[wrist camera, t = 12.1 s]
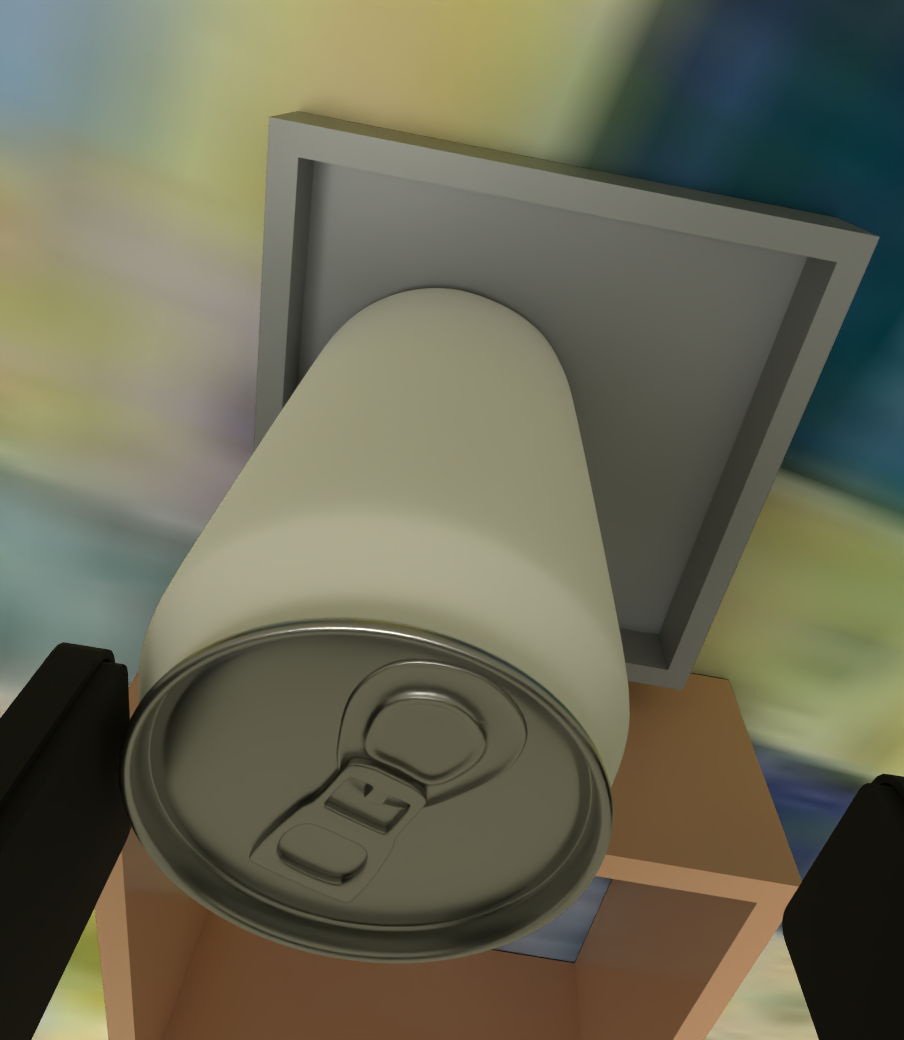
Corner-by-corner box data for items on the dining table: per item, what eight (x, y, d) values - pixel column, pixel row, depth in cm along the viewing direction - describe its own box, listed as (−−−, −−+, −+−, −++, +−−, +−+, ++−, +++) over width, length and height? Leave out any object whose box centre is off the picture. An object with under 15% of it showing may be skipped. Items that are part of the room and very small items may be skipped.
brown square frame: (588, 977, 32) (607, 1186, 26) (190, 913, 32) (116, 1112, 26) (728, 680, 24) (803, 887, 18) (191, 585, 23) (80, 767, 17)
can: (628, 382, 18) (784, 783, 8) (475, 567, 21) (447, 1037, 11) (396, 223, 17) (222, 463, 7) (266, 445, 20) (5, 855, 9)
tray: (667, 636, 23) (682, 690, 21) (268, 566, 23) (246, 614, 21) (836, 217, 17) (879, 237, 15) (297, 111, 17) (268, 116, 15)
